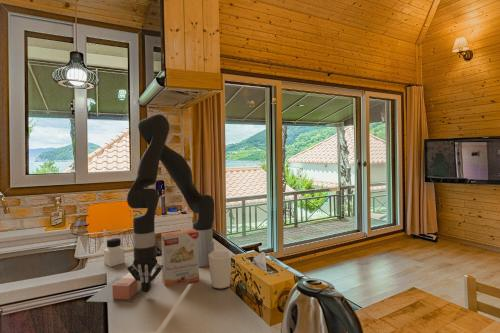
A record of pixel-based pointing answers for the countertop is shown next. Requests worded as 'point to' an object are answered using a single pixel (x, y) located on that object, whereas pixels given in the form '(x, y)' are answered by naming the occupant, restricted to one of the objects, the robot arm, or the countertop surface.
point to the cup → (220, 268)
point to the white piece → (107, 292)
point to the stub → (124, 288)
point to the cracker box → (180, 257)
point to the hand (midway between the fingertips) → (146, 291)
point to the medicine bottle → (114, 252)
